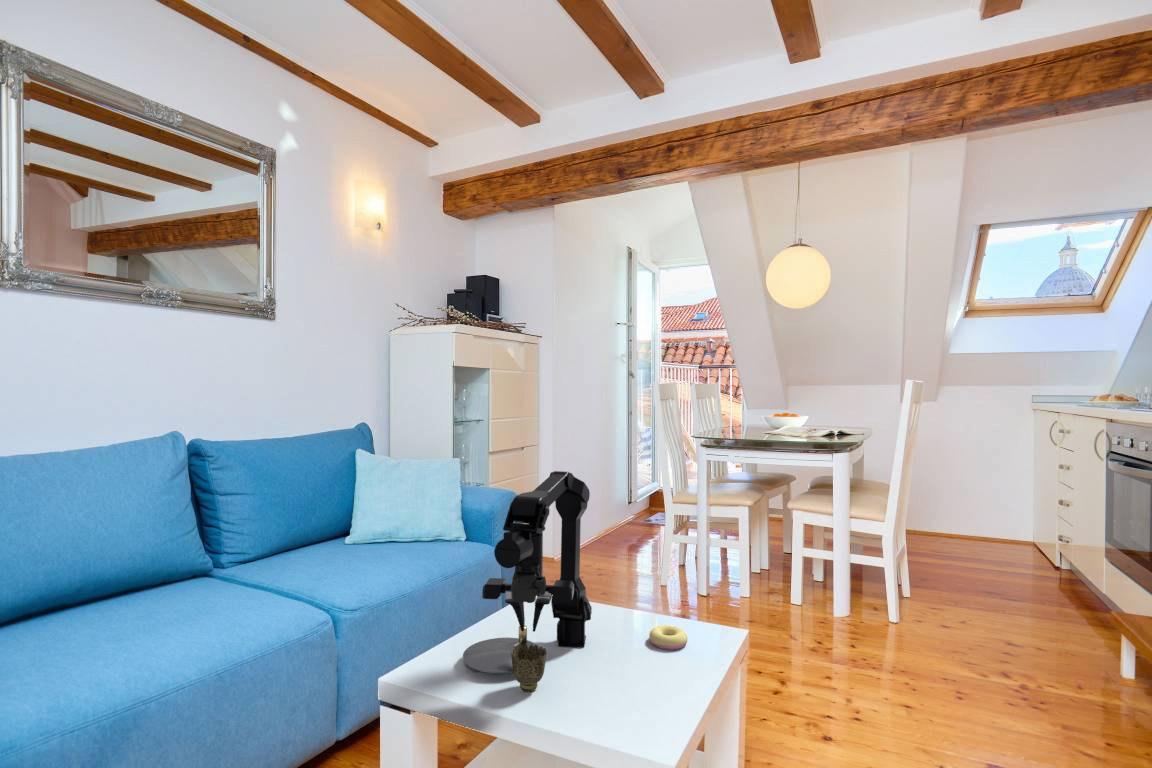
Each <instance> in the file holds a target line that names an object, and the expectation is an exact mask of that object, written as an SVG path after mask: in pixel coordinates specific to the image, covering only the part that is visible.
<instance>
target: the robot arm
mask: <svg viewBox="0 0 1152 768" xmlns="http://www.w3.org/2000/svg"><path fill="white" fill-rule="evenodd" d="M590 495H591V493H590V489H589V487H588V486H587V484H586V483H585V481H582V480H581V479H579V478H577V477H576V476H574V475H573V473H572V472H570V471H564V470H563V471H562V470H561V471H560V470H559V471H558V470H557V471H556V470H555V471H551V472H550V473H549V476H548V477H547V478H546V479H545V480H544V481H542V482H541V483H540V484H539V485H538V486H537V487H535V489H534V490H532V491H527V492H522V493H520V494H518V495H516V496H514V498H513V499H512V501H511V502H510V505H509V509H508V511H507V515H506V518H505V521H504V525H503V528H502V529H503V531H504V532H503V538H502V539H501V540H499V541H498V542H497V543H496V545H495V548H494V551H493V552H494V554H493V555H494V558H495V560H496V562H497V563H498V564H499V566H501V567H503V568H505V569H511V568H514V572H513V576H512V581H511V583H507V579H506V578H494V577H493V578H492V577H491V578H489V579H488V580H487V581H486V582H485V583H484V584H483V586H482V592H481V593H482V595H481V596H482V599H483V600H498V599H499V597H500V596H501V594H505V600H504V603H506V604H509V605H510V606H511V607H512V609H513V610H514V613H515V615H516V618H517V622H518V624H519V626H520V628H521V631H524V626H526V625H525V622H526V619H525V606H524V604H525V603H527V604H532V603H534V611H533V612H534V613H533V621H532V632H533V633H534V632H536V630H537V626H538V623H539V620H540V616H541V614H542V610H543V608H544V607H545V606H546V605H550V603H551V605H550V606H551V611H552V616H553V618H554V619H558V621H557V622H556V623H557V624H556V641H557V642H558V643H557V647H568V648H569V647H570V648H584V647H585V646H586V640H587V635H586V622H587V621H591V620H592V618H591V617H592V609H593V607H592V605H591V603H590V602H589V601H590V600H589V599H588V597H587V594H586V593H587V591H586V585H584V583H583V580H582V579H581V577H580V571H581V570H580V566H581V564H580V563H581V561H580V559H581V557H580V556H581V555H580V554H581V525H582V523H581V520H582V517H583V515H584V514H585V512H586V510H587V509H588V502H589V500H590ZM554 502H555V506H554V507H555V509H556V511H557V513H558V515H559V517H560V519H561V529H560V530H561V532H560V535H561V537H560V538H561V541H560V542H561V543H560V578H559V579H555V581H554V584H547V579H546V576H543V572H544V571H543V564H544V563H543V559H544V558H543V553H544V552H543V551H544V550H543V549H544V546H543V544H544V541H543V540H544V539H543V538H544V535H543V533H544V532H545V530H546V527H545V525H546V523H547V521H548V517H549V515H550V512H551V511H550V506H551V505H552V504H553V503H554Z"/></svg>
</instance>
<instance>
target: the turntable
mask: <svg viewBox="0 0 1152 768" xmlns="http://www.w3.org/2000/svg"><path fill="white" fill-rule="evenodd" d="M526 644H527V647H528V648H529V647H530V645H531V644H533V645H534V646H535V645H537V646H538V648H540V647H541V646H539V645H538V644H537V643H535V642H533V641H531V640H528V626H527V625H525V626H524V631H521V628H520V625H519V626H518V637H495V638H494V637H493V638H488V639H484V640H481V641H478V642H476V643H474V644H471V645H470V646H468V647H467V648H465V650H464V651H463V653H462V663H463V664H464V666H465V667H466V668H467V669H469V670H470V671H473V672H475V673H479V674H483V675H490V676H499V675H500V676H501V675H502V676H503V675H504V676H505V675H514V673H513V667H512V657H511V652H512V653H513V648H514V647H515V648H517V646H518V645H521V646H522V647H523V648H524V646H525V645H526Z"/></svg>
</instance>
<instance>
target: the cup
mask: <svg viewBox="0 0 1152 768" xmlns="http://www.w3.org/2000/svg"><path fill="white" fill-rule="evenodd" d="M537 645H538V644H537ZM537 645H535V646H534V645H533V644H531V645H530V647H529V648H528V647H527V644H526V645H525V646H524V648H523V647H522V646H521V645H518V646H517V648H515V647H514V648H513V653H512V652H511V657H512V667H513V676H514V678H515V680H516V681H517V682H518V683H519V688H520V690H521V691H522V692H525V693H531V692H532V693H533V692H534V691H536V690H537V688H538V683H539V682H540V681H541V680H542V678H543V677H544V673H545V667H546V659H547V648H546V647H543V646H542V645H540V646H539V645H538V646H539V647H540V648H538V646H537Z"/></svg>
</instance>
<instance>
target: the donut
mask: <svg viewBox="0 0 1152 768" xmlns="http://www.w3.org/2000/svg"><path fill="white" fill-rule="evenodd" d="M648 639H649V641H650V642H651V644H653V645H654V646H655V647H657V648H659V649H662V648H663V650H667V649H676V650H680V649H682V648H683V647H685V646H686V645H687V643H688V640H689V639H688V634H687V633H686V631H685V630H684V629H682V628H680V627H678V626H676V625H675V626H674V625H669V624H664V625H663V624H661V625H657V626H655V627H653V628H652V629H651V630H650V631H649V634H648ZM679 648H680V649H679Z"/></svg>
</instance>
